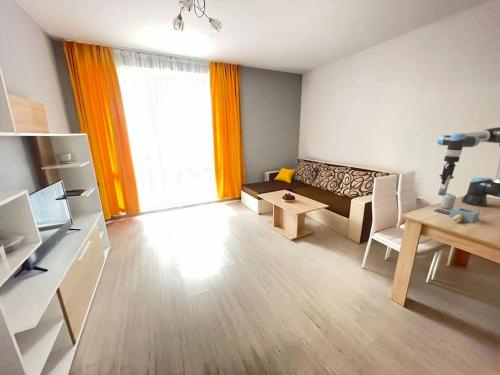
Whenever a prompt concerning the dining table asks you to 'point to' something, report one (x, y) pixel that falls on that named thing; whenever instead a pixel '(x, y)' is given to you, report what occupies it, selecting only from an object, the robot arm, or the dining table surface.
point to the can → (448, 201)
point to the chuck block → (464, 214)
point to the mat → (442, 211)
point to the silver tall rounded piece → (443, 191)
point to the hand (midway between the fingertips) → (443, 187)
